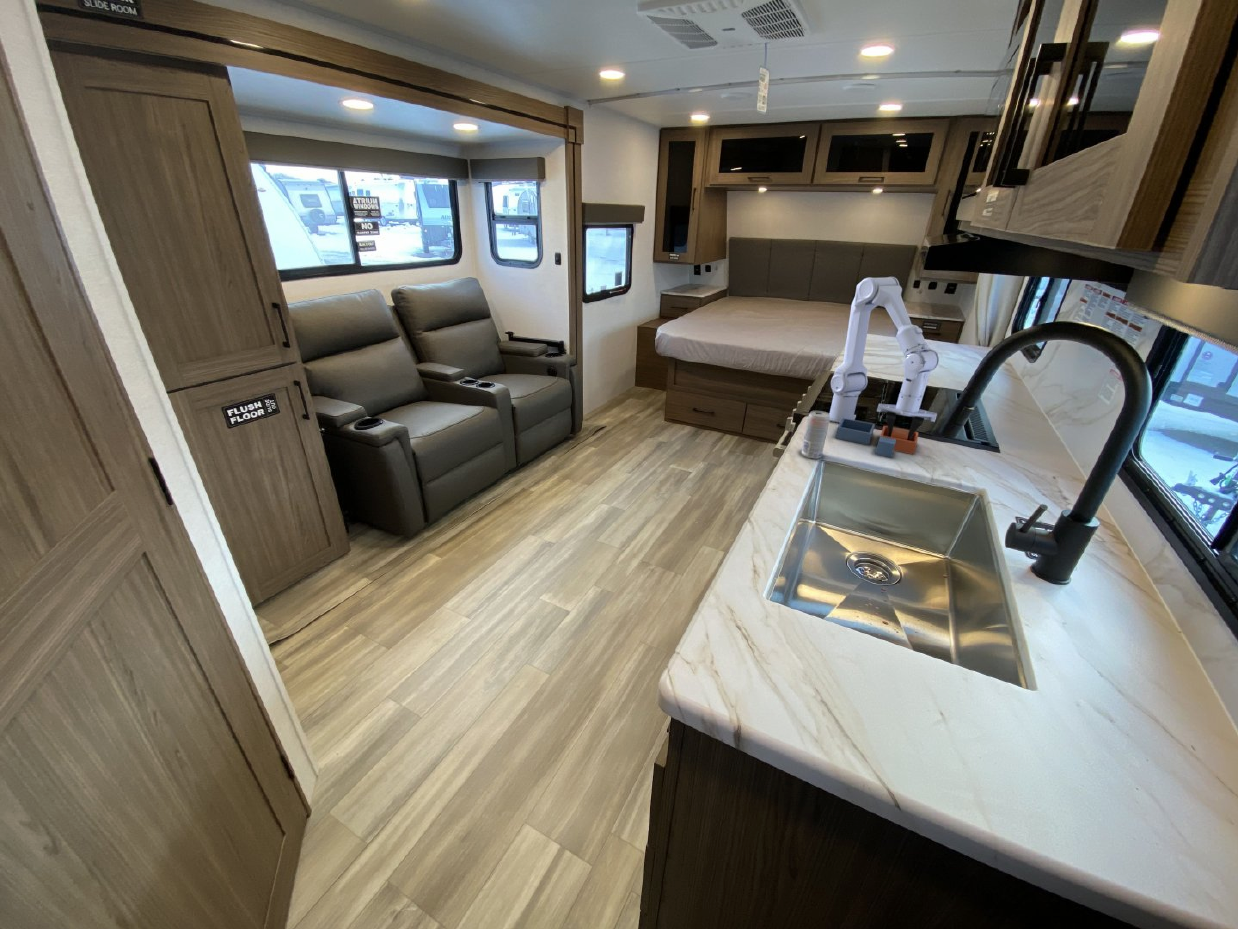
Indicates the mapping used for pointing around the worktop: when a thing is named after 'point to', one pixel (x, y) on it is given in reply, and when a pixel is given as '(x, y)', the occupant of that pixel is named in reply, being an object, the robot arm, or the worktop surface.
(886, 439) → the slate block
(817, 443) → the energy drink
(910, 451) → the rust bin
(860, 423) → the slate bin
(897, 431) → the rust block
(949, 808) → the worktop surface
